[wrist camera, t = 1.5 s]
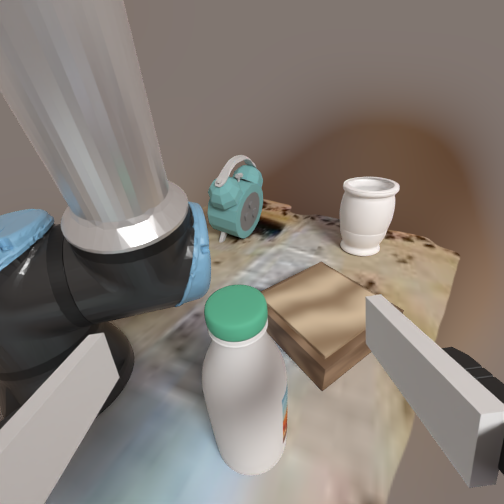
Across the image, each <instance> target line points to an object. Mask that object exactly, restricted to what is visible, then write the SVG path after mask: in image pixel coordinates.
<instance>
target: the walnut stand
mask: <svg viewBox="0 0 504 504" xmlns="http://www.w3.org/2000/svg"><path fill="white" fill-rule="evenodd" d="M261 293H262V294H263V295H264V297H265V299H266V302H267V310H268V317H267V319H268V327H267V330H266V331H267V333H268V334H269V335H270V336H271V337H272V338H273V339H274V341H275V342H276V343H277V344H278V345H279V346H280V347H281V348H282V349H283V350H284V351H285V352H286V353H287V354H288V355H289V356H290V358H291V359H292V360H293V361H294V362H295V363H296V364H297V365H298V366H299V367H300V368H301V369H302V370H303V371H304V372H305V373H306V375H307V376H308V377H309V378H310V379H311V380H312V381H313V382H314V383H315V384H316V385H317V386H318V387H319V388H320V389H321V390H322V391H323V390H324V389H326V388H327V387H328V386H329V385H331V384H332V383H333V382H334V381H336V380H337V379H338V378H339V377H341V376H342V375H343V374H344V373H346V372H347V371H348V370H349V369H351V368H352V367H353V366H354V365H356V364H357V363H358V362H359V361H361V360H362V359H363V358H364V357H366V356H367V355H368V354H369V353H371V352H372V351H371V350H370V349H369V347H368V346H367V344H366V298H365V297H366V296H373V295H377V294H375V293H373V292H372V291H370V290H368V289H367V288H365V287H363V286H361V285H360V284H358V283H356V282H355V281H353V280H351V279H350V278H348V277H346V276H345V275H343V274H341V273H339V272H338V271H336V270H334V269H333V268H331V267H329V266H328V265H326V264H324V263H323V262H320V263H318V264H316V265H314V266H312V267H309V268H307V269H305V270H303V271H301V272H299V273H297V274H295V275H293V276H291V277H289V278H287V279H285V280H283V281H281V282H279V283H277V284H275V285H273V286H271V287H269V288H267V289H265V290H263V291H261ZM391 304H392V303H391ZM392 305H393V306H394V307H395V308H397V309H398V310H399V311H400V312H401V313H402V314H403V311H404V310H402V309H400V308H399V307H397V306H395V305H394V304H392Z"/></svg>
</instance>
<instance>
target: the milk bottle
mask: <svg viewBox="0 0 504 504" xmlns="http://www.w3.org/2000/svg"><path fill="white" fill-rule="evenodd" d="M204 314H205V320H206V324H207V328H208V333H209V335H210V337H211V338H212V340H211V344H210V346H209V348H208V350H207V353H206V355H205V358H204V362H203V367H202V388H203V393H204V398H205V402H206V406H207V410H208V414H209V418H210V421H211V425H212V428H213V432H214V436H215V439H216V443H217V446H218V449H219V452H220V454H221V456H222V458H223V460H224V462H225V463H226V464H227V465H228V466H229V467H230V468H231V469H232V470H234V471H235V472H237V473H239V474H242V475H247V476H255V475H260V474H263V473H265V472H267V471H269V470H270V469H271V468H272V467H274V466H275V465H276V463H277V462H278V461H279V460H280V458H281V456H282V454H283V452H284V449H285V445H286V438H287V373H286V367H285V363H284V360H283V357H282V354H281V352H280V350H279V348H278V346H277V345H276V343H275V342H274V341H273V339H272V338H271V337H270V336H269V334H268V333H267V331H266V330H267V327H268V319H267V317H268V310H267V302H266V299H265V297H264V295H263V294H262V293H261V292H260V291H259V290H257V289H256V288H253V287H251V286H247V285H231V286H227V287H224V288H221V289H219V290H217V291H216V292H214V293H213V294H212V295H211V296H210V297H209V298H208V300H207V302H206V304H205V309H204Z"/></svg>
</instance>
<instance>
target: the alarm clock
mask: <svg viewBox="0 0 504 504" xmlns="http://www.w3.org/2000/svg"><path fill="white" fill-rule="evenodd" d="M242 160H244V161H245V163H246V164H247V165H244V166H241V167H240V168H238V169H237V170H236V171H235V172H234V174H233V177H229V174H230V172H231V170H232V169H233V167H234V166H235V164H237V163H238V162H240V161H242ZM262 182H263V179H262V175H261V173H260V172H259V171H258V170H257V169H256V166H255V163H253V162H252V161H251V159H249V158H248V157H246V156H243V155H238V156H234V157H233V158H231V159H230V160H229V161H228V162H227V164H226V165H225V166H224V168H223V169H222V171H221V173H220V175H219V177H218V178H217V179H215V180H214V181H213V183H212V184H211V186H210V188H209V191H208V193H209V196H210V200H209V203H208V219H209V223H210V225H211V226H212V227H213V229H216V230H219V231H221V234H220V239H219V242H223V241H224V240H225V238H226V236H227V233H228V234H231V235H234V236H237V237H240V238H246V237H248V236H249V235H250V234H251V233H252V232H253V230H254V229H255V227H256V225H257V223H258V221H259V218H260V214H261V211H262V205H263V192H262V189H261V187H262Z"/></svg>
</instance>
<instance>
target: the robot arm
mask: <svg viewBox="0 0 504 504" xmlns="http://www.w3.org/2000/svg"><path fill="white" fill-rule="evenodd" d="M0 92H1V93H2V95H3V97H4V98H5V100H6V102H7V103H8V105H9V107H10V108H11V110H12V112H13V113H14V115H15V117H16V119H17V120H18V122H19V124H20V125H21V127H22V129H23V130H24V132H25V134H26V135H27V137H28V139H29V140H30V142H31V144H32V145H33V147H34V149H35V150H36V152H37V154H38V155H39V157H40V159H41V160H42V162H43V164H44V165H45V167H46V168H47V170H48V172H49V174H50V175H51V177H52V179H53V180H54V182H55V184H56V185H57V187H58V189H59V191H60V192H61V194H62V196H63V197H64V199H65V200H66V202H67V204H68V207H67V208H66V210H65V212H64V214H63V216H62V219H61V224H54V218H53V217H52V216H50V215H49V214H48V213H47V212H46V211H44V210H41V209H37V210H35V209H27V210H21V211H16V212H12V213H8V214H4V215H1V216H0V409H1V413H2V415H3V417H4V419H3V420H2V421H1V422H0V504H45V502H46V500H47V499H48V497H49V495H50V494H51V492H52V490H53V489H54V487H55V485H56V484H57V482H58V480H59V479H60V477H61V475H62V473H63V472H64V470H65V468H66V467H67V465H68V463H69V462H70V460H71V458H72V457H73V455H74V453H75V452H76V450H77V448H78V446H79V445H80V443H81V441H82V440H83V438H84V436H85V435H86V433H87V431H88V430H89V428H90V426H91V425H92V423H93V421H94V419H95V418H96V416H97V415H99V414H100V413H101V412H102V411H103V410H105V409H106V408H107V407H108V406H109V405H110V404H111V403H112V402H113V401H114V400H115V399H116V397H117V396H118V395H119V394H120V392H121V391H122V390H123V388H124V387H125V385H126V383H127V381H128V380H129V377H130V375H131V373H132V369H133V365H134V353H133V350H132V347H131V345H130V343H129V341H128V339H127V337H126V336H125V335H124V334H123V333H122V332H121V331H120V330H119V329H117V328H116V327H115V326H114V325H112V324H111V323H110V322H108V321H112V320H116V319H120V318H125V317H129V316H134V315H138V314H143V313H147V312H152V311H156V310H161V309H165V308H170V307H178V306H180V305H182V304H183V303H186V302H189V301H193V300H196V299H199V298H201V297H203V296H204V295H205V294H206V293H207V291H208V289H209V286H210V281H211V258H210V251H209V249H208V248H209V237H208V230H207V225H206V220H205V216H204V213H203V210H202V208H201V206H200V205H199V204H198V203H192V202H188V199H187V196H186V194H185V192H184V191H183V190H182V188H180V187H179V186H178V185H176V184H174V183H173V182H171V181H169V180H167V176H166V172H165V168H164V164H163V160H162V156H161V152H160V148H159V144H158V140H157V136H156V132H155V127H154V124H153V119H152V116H151V111H150V107H149V103H148V99H147V95H146V91H145V87H144V83H143V79H142V75H141V71H140V67H139V62H138V59H137V54H136V50H135V46H134V42H133V38H132V34H131V30H130V26H129V22H128V18H127V13H126V9H125V5H124V1H123V0H0ZM365 298H366V344H367V346H368V347H369V349H370V350H371V351H372V353H373V354H374V356H375V357H376V358H377V360H378V361H379V363H380V364H381V365H382V367H383V368H384V370H385V371H386V372H387V374H388V375H389V377H390V378H391V379H392V381H393V382H394V384H395V385H396V386H397V388H398V389H399V391H400V392H401V393H402V395H403V396H404V397H405V399H406V400H407V402H408V403H409V404H410V406H411V407H412V409H413V410H414V411H415V413H416V414H417V416H418V417H419V418H420V420H421V421H422V423H423V424H424V425H425V427H426V428H427V430H428V431H429V432H430V434H431V435H432V437H433V438H434V439H435V441H436V442H437V443H438V445H439V446H440V448H441V449H442V451H443V452H444V453H445V455H446V456H447V458H448V459H449V460H450V462H451V463H452V465H453V466H454V467H455V468H456V470H457V471H458V473H459V474H460V476H461V477H462V478H463V480H464V481H465V483H466V484H467V485H468V487H469V488H471V487H480V486H487V485H495V484H496V481H497V476H498V471H499V470H500V471H501V472H502V473H503V474H504V384H503V383H502V382H500V381H499V380H498V379H497V378H496V377H493V375H492V374H491V373H490V372H488V371H487V370H486V369H485V368H482V367H481V365H480V364H478V363H477V362H476V361H475V360H474V359H473V358H471V357H470V356H469V355H467V354H465V353H463V352H461V351H459V350H457V349H455V348H453V347H448V348H440V347H439V346H438V345H437V344H436V343H435V342H434V341H432V340H431V339H430V338H429V337H428V336H427V335H426V334H425V333H424V332H422V331H421V330H420V329H419V328H418V327H417V326H416V325H415V324H413V323H412V322H411V321H410V320H409V319H408V318H407V317H406V316H404V315H403V314H402V313H401V312H400V311H399V310H398V309H397V308H395V307H394V306H393V305H392V304H391V303H390V302H389V301H388V300H387V299H385V298H384V297H383V296H382V295H381V294H380V295H373V296H366V297H365Z"/></svg>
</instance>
